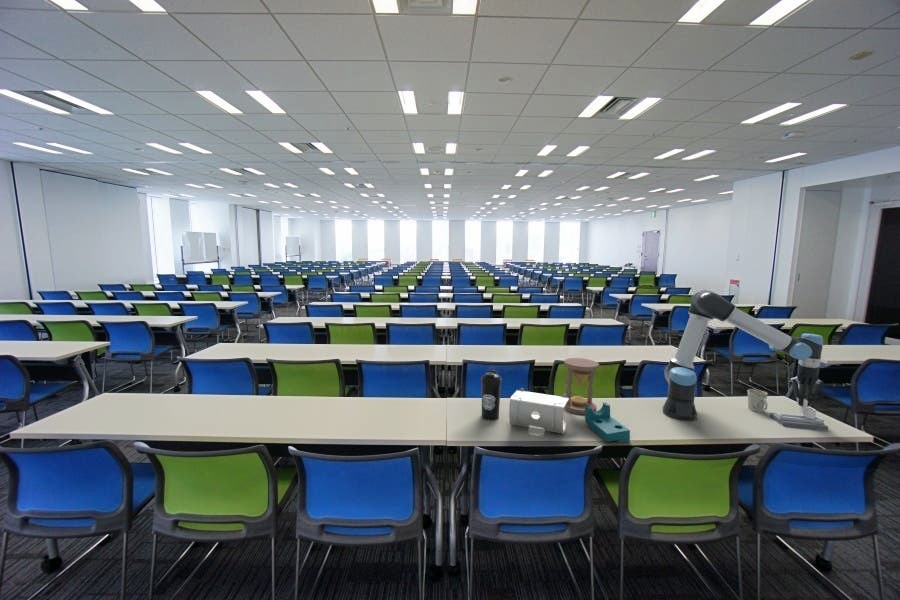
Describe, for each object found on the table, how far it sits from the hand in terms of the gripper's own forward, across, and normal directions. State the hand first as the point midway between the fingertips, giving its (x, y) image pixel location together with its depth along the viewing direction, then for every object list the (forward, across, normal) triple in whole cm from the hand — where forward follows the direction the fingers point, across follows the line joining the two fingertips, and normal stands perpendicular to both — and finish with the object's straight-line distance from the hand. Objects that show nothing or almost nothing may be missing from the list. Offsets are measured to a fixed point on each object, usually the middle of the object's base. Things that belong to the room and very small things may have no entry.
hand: (802, 412), depth 184 cm
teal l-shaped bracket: (+6, -96, -38) cm, 103 cm away
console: (+6, -2, 0) cm, 6 cm away
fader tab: (+4, +2, 0) cm, 4 cm away
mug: (+6, -12, +12) cm, 18 cm away
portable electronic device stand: (+6, -126, -40) cm, 132 cm away
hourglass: (+6, -106, -11) cm, 106 cm away
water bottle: (+6, -150, -36) cm, 154 cm away
